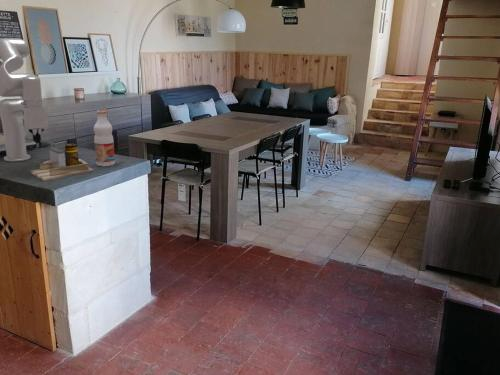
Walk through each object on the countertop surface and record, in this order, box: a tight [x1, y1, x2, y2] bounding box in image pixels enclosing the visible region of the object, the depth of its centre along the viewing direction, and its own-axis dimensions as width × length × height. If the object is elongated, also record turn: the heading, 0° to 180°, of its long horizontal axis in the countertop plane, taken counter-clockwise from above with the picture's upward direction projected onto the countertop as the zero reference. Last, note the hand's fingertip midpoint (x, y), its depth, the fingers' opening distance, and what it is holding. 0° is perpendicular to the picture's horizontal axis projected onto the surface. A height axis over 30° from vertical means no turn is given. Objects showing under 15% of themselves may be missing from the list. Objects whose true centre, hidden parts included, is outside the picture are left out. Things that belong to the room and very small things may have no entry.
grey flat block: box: [49, 147, 66, 169], centre depth 207 cm, size 10×3×10 cm, turn 45°
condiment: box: [64, 143, 80, 167], centre depth 211 cm, size 7×8×12 cm
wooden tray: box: [30, 159, 95, 182], centre depth 210 cm, size 16×24×4 cm, turn 135°
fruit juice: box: [93, 110, 116, 167], centre depth 222 cm, size 9×9×28 cm
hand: (37, 142), depth 205 cm, fingers closed
